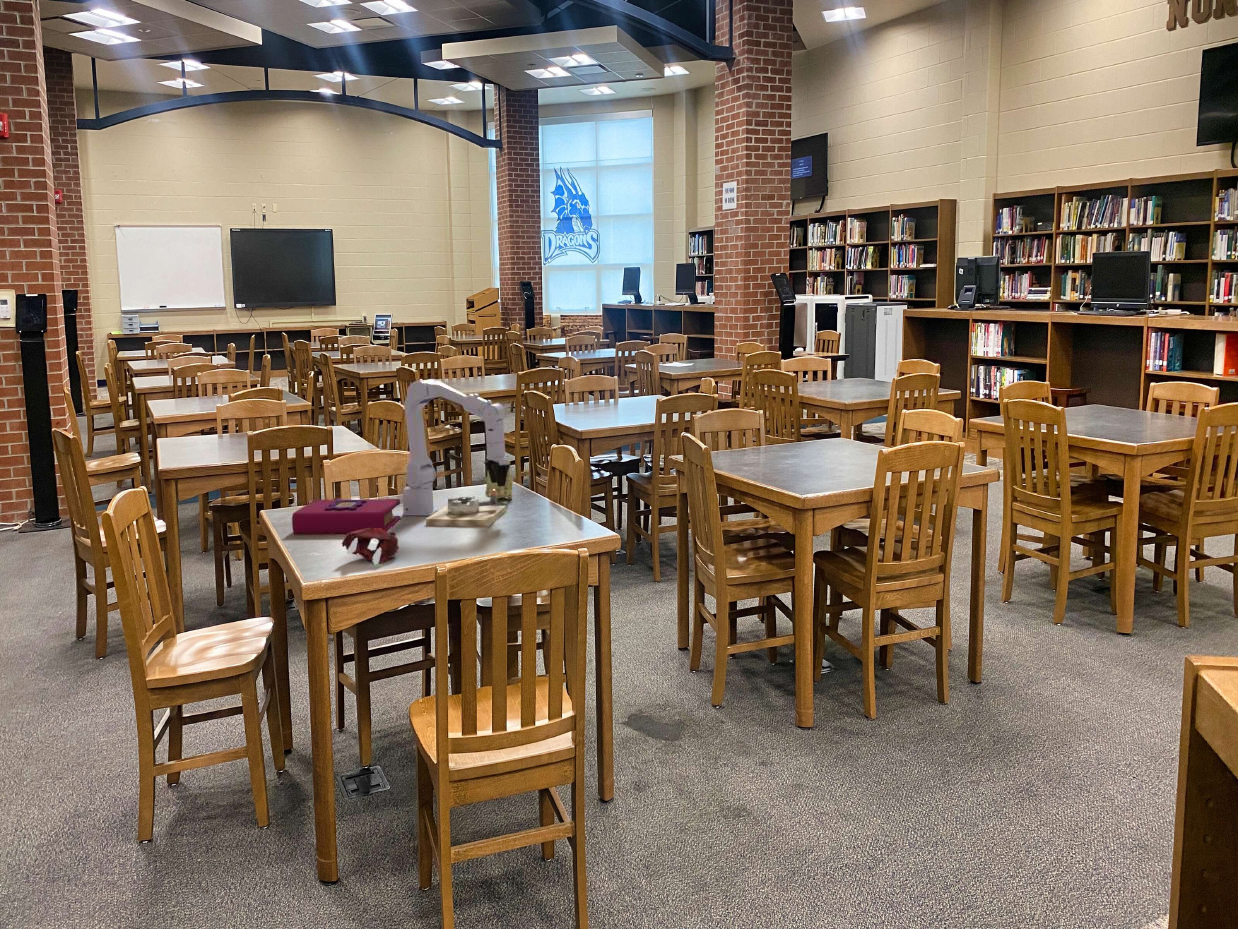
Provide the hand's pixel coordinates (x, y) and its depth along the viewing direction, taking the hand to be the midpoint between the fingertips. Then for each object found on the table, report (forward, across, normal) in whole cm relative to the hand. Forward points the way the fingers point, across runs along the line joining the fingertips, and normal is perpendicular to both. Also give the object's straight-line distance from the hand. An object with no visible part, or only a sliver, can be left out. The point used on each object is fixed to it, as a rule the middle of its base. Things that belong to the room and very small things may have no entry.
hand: (498, 484), depth 309 cm
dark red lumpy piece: (+11, -33, +46) cm, 57 cm away
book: (+11, +10, +46) cm, 48 cm away
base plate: (+11, +5, +10) cm, 15 cm away
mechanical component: (+11, +28, -8) cm, 32 cm away
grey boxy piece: (+9, +5, +7) cm, 13 cm away
